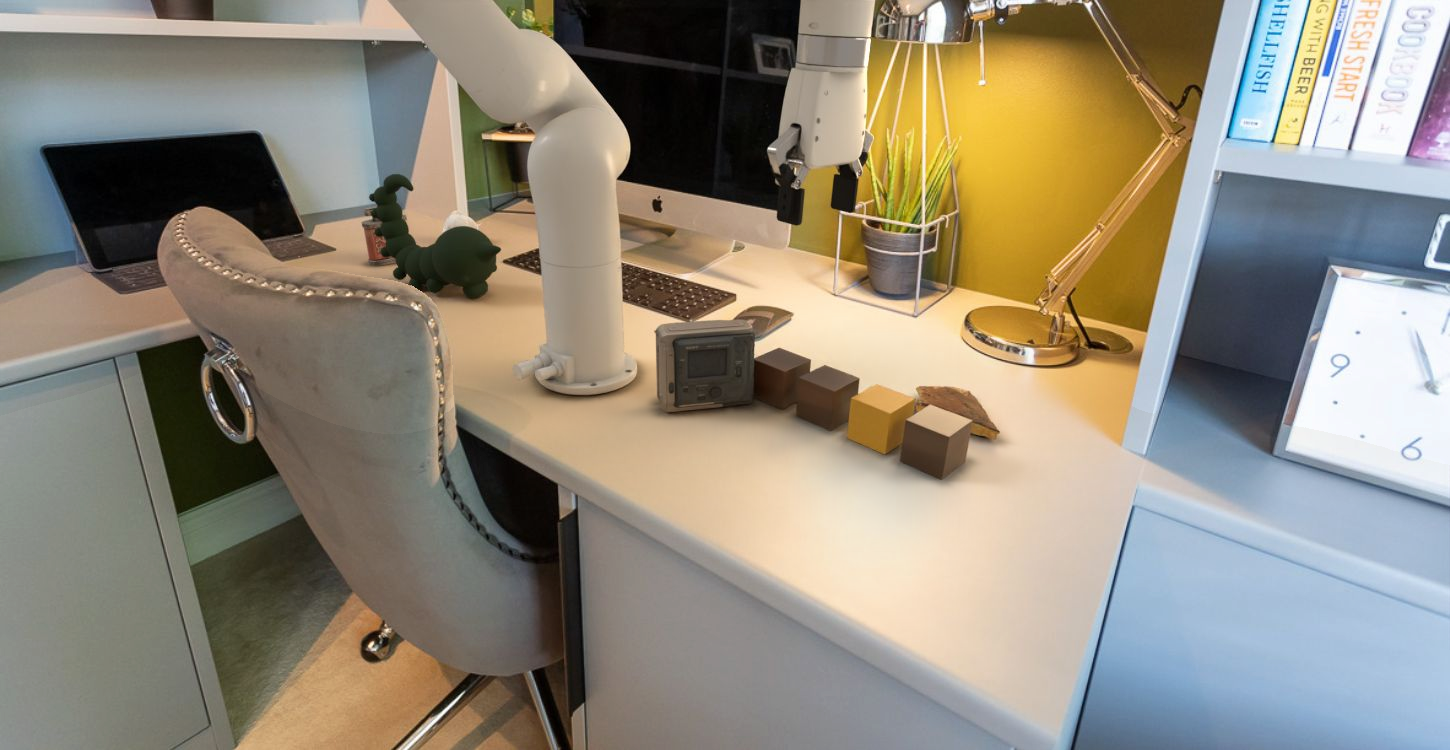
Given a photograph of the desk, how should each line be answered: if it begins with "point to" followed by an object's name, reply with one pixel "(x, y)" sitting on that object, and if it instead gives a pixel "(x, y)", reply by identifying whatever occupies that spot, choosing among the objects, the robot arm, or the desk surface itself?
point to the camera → (704, 364)
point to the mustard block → (879, 418)
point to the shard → (958, 407)
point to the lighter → (375, 240)
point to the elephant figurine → (459, 221)
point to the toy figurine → (433, 248)
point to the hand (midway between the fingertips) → (816, 216)
